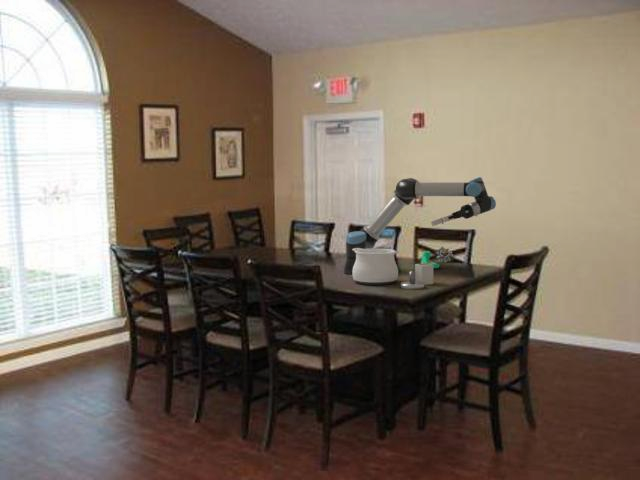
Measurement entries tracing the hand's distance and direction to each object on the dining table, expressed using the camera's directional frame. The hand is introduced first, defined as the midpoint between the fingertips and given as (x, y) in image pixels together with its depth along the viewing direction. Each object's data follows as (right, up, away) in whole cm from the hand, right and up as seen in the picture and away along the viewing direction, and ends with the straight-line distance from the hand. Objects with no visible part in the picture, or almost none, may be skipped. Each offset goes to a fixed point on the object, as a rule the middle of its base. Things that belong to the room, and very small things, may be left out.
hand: (437, 222), depth 391 cm
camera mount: (+3, -27, +42) cm, 50 cm away
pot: (-34, -32, -6) cm, 48 cm away
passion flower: (+15, -24, +67) cm, 73 cm away
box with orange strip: (-9, -33, -12) cm, 36 cm away
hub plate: (-17, -34, -23) cm, 44 cm away
